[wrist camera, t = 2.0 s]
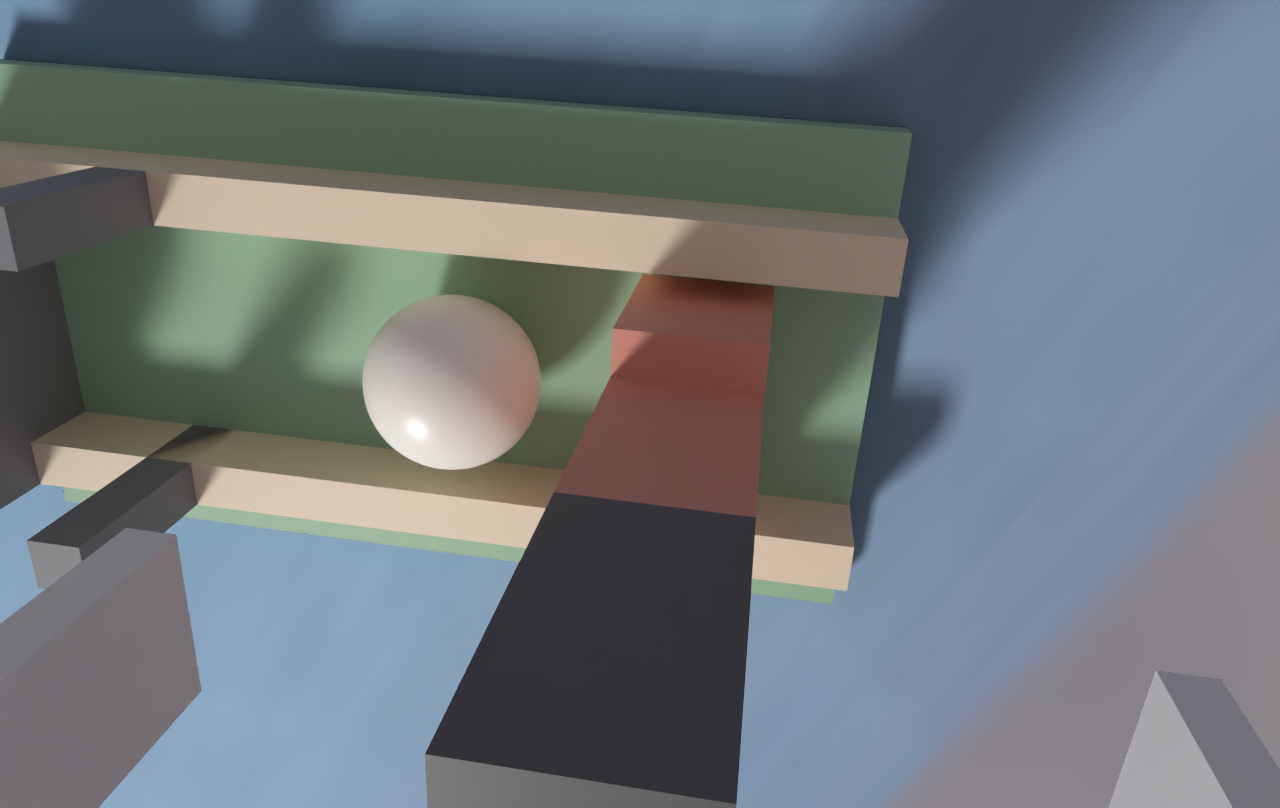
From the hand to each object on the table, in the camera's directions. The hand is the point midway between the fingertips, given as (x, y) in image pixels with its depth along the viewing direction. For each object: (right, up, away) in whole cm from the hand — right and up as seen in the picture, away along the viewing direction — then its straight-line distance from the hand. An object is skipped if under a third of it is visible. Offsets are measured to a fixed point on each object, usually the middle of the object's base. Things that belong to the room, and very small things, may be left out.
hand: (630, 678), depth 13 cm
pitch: (-5, +6, +11) cm, 14 cm away
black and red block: (+2, +4, +10) cm, 11 cm away
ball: (-4, +4, +9) cm, 10 cm away
